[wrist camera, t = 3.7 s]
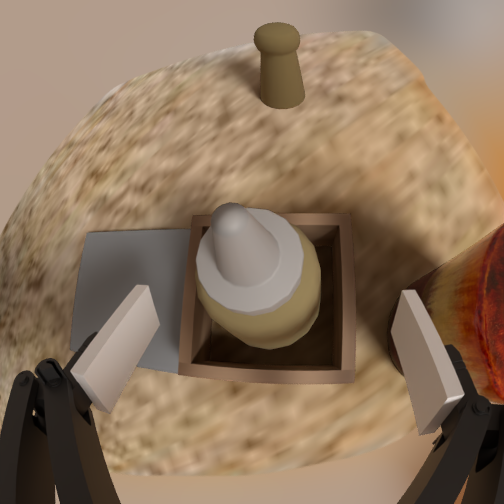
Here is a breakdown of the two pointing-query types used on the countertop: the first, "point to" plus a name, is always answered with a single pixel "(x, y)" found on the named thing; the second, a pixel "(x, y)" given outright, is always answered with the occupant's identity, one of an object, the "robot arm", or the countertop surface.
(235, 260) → the squeeze bottle
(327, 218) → the bottle holder
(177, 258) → the slate mat
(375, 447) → the countertop surface
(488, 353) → the vase
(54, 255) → the countertop surface
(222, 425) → the countertop surface
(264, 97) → the cork
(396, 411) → the countertop surface
